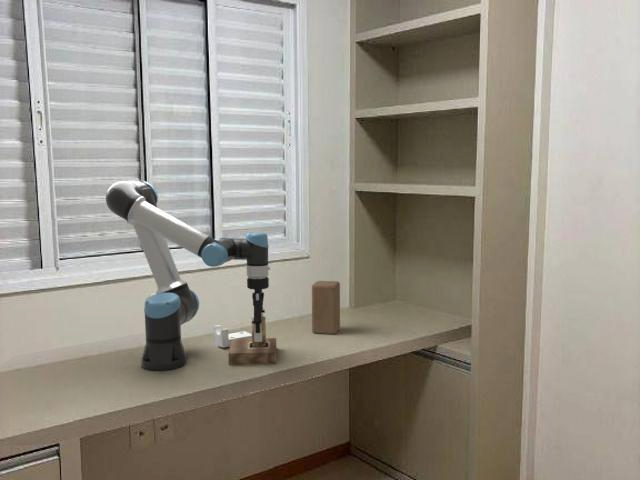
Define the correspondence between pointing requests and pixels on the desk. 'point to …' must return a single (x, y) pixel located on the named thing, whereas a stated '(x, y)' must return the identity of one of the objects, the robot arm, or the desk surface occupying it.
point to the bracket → (227, 336)
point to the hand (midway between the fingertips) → (258, 336)
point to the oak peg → (262, 344)
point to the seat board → (252, 352)
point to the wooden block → (326, 307)
